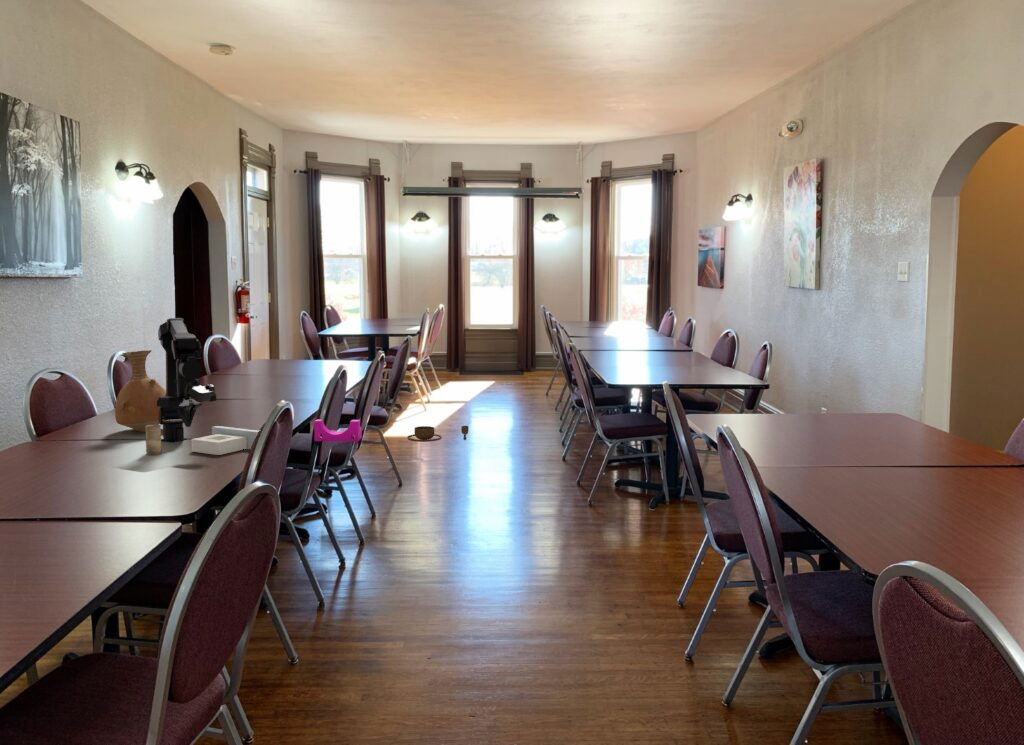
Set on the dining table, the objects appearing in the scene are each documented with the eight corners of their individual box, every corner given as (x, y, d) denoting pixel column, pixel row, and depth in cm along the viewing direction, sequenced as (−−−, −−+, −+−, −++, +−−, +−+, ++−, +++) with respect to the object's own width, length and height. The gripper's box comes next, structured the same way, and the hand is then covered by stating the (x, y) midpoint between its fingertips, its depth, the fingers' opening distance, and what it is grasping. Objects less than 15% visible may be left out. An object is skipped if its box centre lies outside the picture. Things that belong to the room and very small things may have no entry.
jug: (123, 440, 300) (120, 353, 297) (106, 432, 314) (103, 349, 311) (181, 433, 313) (178, 350, 310) (162, 426, 327) (159, 347, 324)
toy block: (361, 439, 304) (361, 418, 304) (358, 443, 298) (358, 421, 297) (319, 439, 305) (318, 418, 304) (314, 442, 299) (314, 421, 298)
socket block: (191, 451, 280) (191, 439, 280) (220, 445, 291) (219, 433, 290) (218, 455, 274) (218, 442, 274) (246, 448, 285) (246, 436, 285)
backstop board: (212, 444, 293) (211, 426, 292) (218, 443, 295) (217, 425, 294) (256, 450, 283) (256, 432, 283) (262, 448, 286) (261, 430, 285)
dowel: (143, 454, 276) (142, 426, 275) (154, 451, 280) (154, 424, 279) (152, 455, 274) (152, 427, 273) (164, 453, 278) (163, 425, 277)
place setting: (430, 436, 314) (430, 420, 314) (471, 442, 302) (471, 426, 301) (394, 442, 301) (394, 425, 300) (436, 450, 288) (436, 432, 288)
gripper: (180, 380, 257) (182, 433, 258) (228, 375, 273) (229, 424, 275) (154, 379, 262) (156, 430, 264) (202, 373, 279) (204, 422, 280)
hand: (188, 426), depth 270 cm, fingers closed
